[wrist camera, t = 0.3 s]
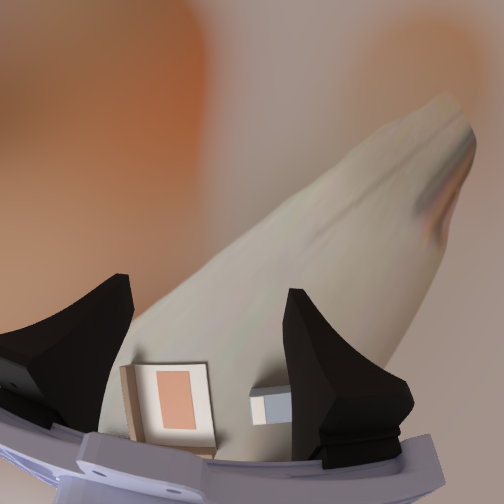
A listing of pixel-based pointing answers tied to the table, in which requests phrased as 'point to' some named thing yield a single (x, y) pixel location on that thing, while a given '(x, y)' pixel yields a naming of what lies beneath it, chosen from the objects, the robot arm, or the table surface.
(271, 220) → the table surface
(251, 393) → the slate block
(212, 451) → the tray
